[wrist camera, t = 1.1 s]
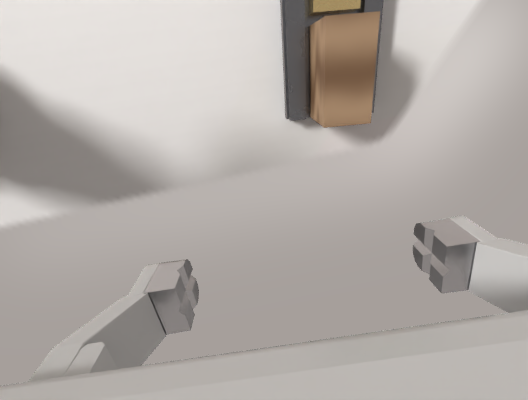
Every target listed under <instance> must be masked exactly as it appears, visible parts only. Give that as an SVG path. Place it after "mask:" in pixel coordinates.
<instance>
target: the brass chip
mask: <svg viewBox="0 0 528 400" xmlns="http://www.w3.org/2000/svg"><path fill="white" fill-rule="evenodd" d="M360 4H361V0H309V15H320V14H332V13H344V12H354V11H356V10H358V9H360Z"/></svg>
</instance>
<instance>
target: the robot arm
mask: <svg viewBox="0 0 528 400" xmlns="http://www.w3.org/2000/svg"><path fill="white" fill-rule="evenodd" d="M414 235H415V236H416V237H417V238H418V240H417V241H416V242H415V243H414V245H413V255H414V258H415V262H416V263H417V265H418V267H419V268H420V269H421V270H422V271H423V272H426V273H428V274H430V277H429V279H430V281H431V282H432V283H433V284H434V286H435V287H436V288H437V289H438V290H439V291H440V292H441V293H448V292H456V291H464V290H469V292H471V293H473V294H474V295H476V296H478V297H480V298H482V299H484V300H486V301H487V302H490V303H491V304H493V305H495V306H497V307H499V308H501V309H503V310H504V311H506V312H508V313H505V314H498V315H491V316H484V317H477V318H470V319H463V320H456V321H448V322H441V323H435V324H427V325H420V326H413V327H406V328H400V329H393V330H386V331H379V332H372V333H365V334H358V335H351V336H344V337H337V338H330V339H323V340H317V341H310V342H303V343H296V344H289V345H282V346H275V347H268V348H261V349H254V350H247V351H240V352H233V353H226V354H219V355H212V356H205V357H199V358H191V359H185V360H177V361H170V362H163V363H156V364H149V365H142V364H143V363H144V362H145V361H146V359H147V358H148V357H149V356H150V354H151V353H152V352H153V351H154V349H156V347H157V346H158V345H159V344H160V343H161V341H162V340H163V339H164V338H165V337H166V335H167V334H172V333H178V332H183V331H189V330H191V327H192V323H193V319H194V312H193V308H194V307H195V306H196V305H197V303H198V295H199V290H198V284H197V281H196V279H195V278H194V277H193V276H191V272H192V266H191V263H190V261H188V260H187V259H186V260H179V261H171V262H164V263H157V264H151V265H147V266H145V267H144V269H143V270H142V272H141V274H140V276H139V277H138V279H137V281H136V282H135V284H134V286H133V288H132V289H131V291H130V293H129V294H128V296H125V297H122V298H121V299H119V300H118V301H117V302H115V303H114V304H113V305H111V306H110V307H108V308H107V309H106V310H104V311H103V312H102V313H100V314H99V315H97V316H96V317H95V318H93V319H92V320H91V321H90V322H88V323H86V324H85V325H84V326H82V327H81V328H80V329H78V330H77V331H75V332H74V333H73V334H71V335H70V336H69V337H67V338H66V339H65V340H63V341H62V342H60V343H59V344H58V345H56V346H55V347H54V348H53V349H52V350H51V351H50V353H49V354H48V355H47V357H46V358H45V359H44V361H43V362H42V364H41V365H40V366H39V368H38V369H37V370H36V372H35V373H34V374H33V376H32V377H31V379H30V380H29V381H28V382H23V383H16V384H10V385H3V386H0V400H528V245H527V244H523V243H519V242H516V241H512V240H508V239H504V238H503V239H498V238H496V237H495V236H493V235H492V234H490V233H489V232H487V231H486V230H484V229H483V228H481V227H480V226H478V225H477V224H475V223H474V222H472V221H471V220H469V219H468V218H466V217H464V216H455V217H450V218H445V219H440V220H435V221H429V222H423V223H418V224H416V225H415V228H414ZM141 365H142V366H141Z"/></svg>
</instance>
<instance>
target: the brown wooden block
mask: <svg viewBox="0 0 528 400" xmlns="http://www.w3.org/2000/svg"><path fill="white" fill-rule="evenodd" d="M379 19H380V11H378V12H366V13H354V14H342V15H330V16H325V17H323V18H321V19H320V20H318V21H316V22H315V23H313V24H312V25H310V26H309V53H310V117H311V118H312V119H314V120H315V121H316V122H318V123H319V124H320V125H321V126H323V127H324V128H325V127H335V126H346V125H356V124H367V123H371V114H372V102H373V90H374V78H375V67H376V55H377V43H378V31H379Z"/></svg>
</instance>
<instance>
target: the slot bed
mask: <svg viewBox="0 0 528 400" xmlns="http://www.w3.org/2000/svg"><path fill="white" fill-rule="evenodd" d="M280 4H281V27H282V49H283V72H284V94H285V117H286V119H289V120H300V119H306V117H310V53H309V26H310V25H312V24H313V23H315V22H316V21H318V20H320V19H321V18H323V17H325V16H330V15H342V14H354V13H366V12H378V11H380V19H379V31H378V43H377V55H376V67H375V78H374V90H373V102H372V113H373V111H374V100H375V88H376V77H377V65H378V54H379V43H380V31H381V20H382V8H383V0H361V4H360V9H358V10H356V11H354V12H344V13H332V14H320V15H309V0H280Z"/></svg>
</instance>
